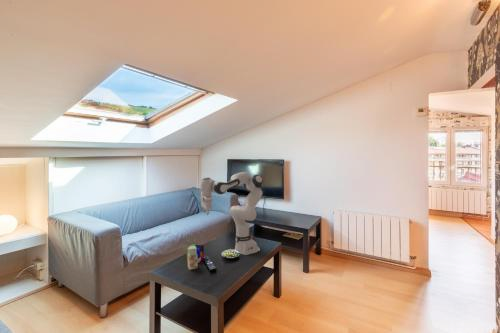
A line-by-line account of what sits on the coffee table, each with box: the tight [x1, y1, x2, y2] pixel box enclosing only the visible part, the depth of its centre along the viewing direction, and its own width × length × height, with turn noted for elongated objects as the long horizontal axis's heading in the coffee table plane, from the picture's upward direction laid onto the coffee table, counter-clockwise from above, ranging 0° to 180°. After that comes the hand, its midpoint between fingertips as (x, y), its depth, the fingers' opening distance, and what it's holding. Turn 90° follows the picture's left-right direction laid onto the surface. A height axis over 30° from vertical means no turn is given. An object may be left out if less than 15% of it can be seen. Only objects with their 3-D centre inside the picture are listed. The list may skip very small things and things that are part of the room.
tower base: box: [187, 261, 198, 271], centre depth 188 cm, size 6×6×5 cm
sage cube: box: [187, 246, 197, 256], centre depth 188 cm, size 5×5×5 cm
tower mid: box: [187, 254, 198, 263], centre depth 188 cm, size 6×6×5 cm
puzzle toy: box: [186, 243, 205, 263], centre depth 202 cm, size 10×10×10 cm
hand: (206, 213), depth 212 cm, fingers open, 8 cm apart
